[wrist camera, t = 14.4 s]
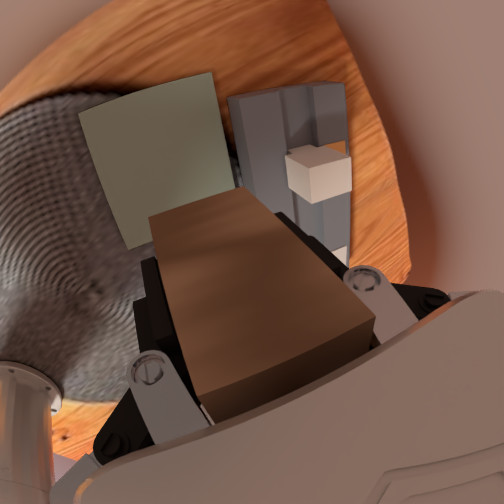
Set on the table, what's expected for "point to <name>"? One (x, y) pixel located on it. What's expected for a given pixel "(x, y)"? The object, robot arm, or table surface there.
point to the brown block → (252, 303)
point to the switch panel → (288, 137)
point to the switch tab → (318, 172)
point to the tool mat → (158, 151)
